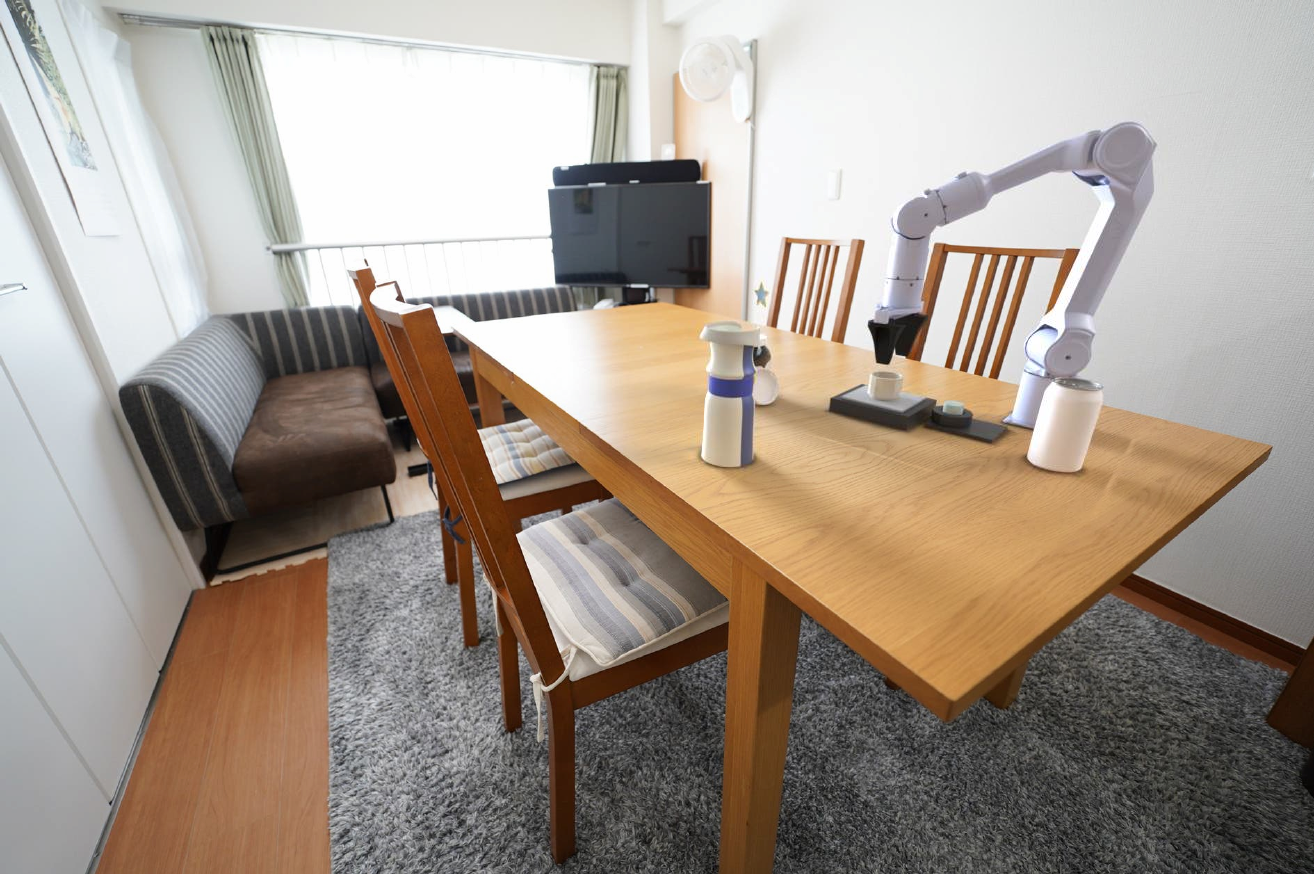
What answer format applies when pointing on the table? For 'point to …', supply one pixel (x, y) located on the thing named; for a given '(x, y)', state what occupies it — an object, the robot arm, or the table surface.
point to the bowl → (885, 385)
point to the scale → (883, 408)
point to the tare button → (953, 407)
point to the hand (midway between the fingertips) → (892, 359)
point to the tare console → (965, 425)
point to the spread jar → (764, 375)
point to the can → (1065, 424)
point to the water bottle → (730, 392)
